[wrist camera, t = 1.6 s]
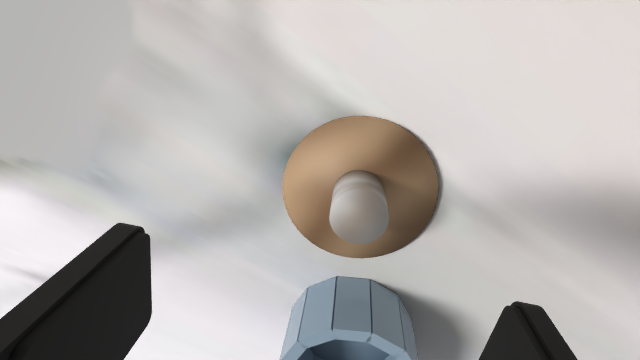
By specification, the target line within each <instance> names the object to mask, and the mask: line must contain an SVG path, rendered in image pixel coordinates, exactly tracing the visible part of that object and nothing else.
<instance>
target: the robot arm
mask: <svg viewBox="0 0 640 360" xmlns="http://www.w3.org/2000/svg"><path fill="white" fill-rule="evenodd" d="M151 314H152V300H151V257H150V236H149V235H148V234H146V233H145V231H144V229H143V228H142V227H140V226H134V225H129V224H124V223H118V224H116V225H114V226H113V227H112V228H111V229H109V230H108V231H107V232H106V233H105V234H103V235H102V236H101V237H100V238H99V239H97V240H96V241H95V242H94V243H92V244H91V245H90V246H89V247H88V248H86V249H85V250H84V251H83V252H81V253H80V254H79V255H78V256H77V257H75V258H74V259H73V260H72V261H70V262H69V263H68V264H67V265H66V266H64V267H63V268H62V269H61V270H59V271H58V272H57V273H56V274H55V275H53V276H52V277H51V278H50V279H48V280H47V281H46V282H45V283H44V284H42V285H41V286H40V287H39V288H37V289H36V290H35V291H34V292H33V293H31V294H30V295H29V296H28V297H26V298H25V299H24V300H23V301H22V302H20V303H19V304H18V305H17V306H16V307H14V308H13V309H12V310H11V311H9V312H8V313H7V314H6V315H5V316H3V317H2V318H1V319H0V360H124V358H125V357H126V355H127V354H128V352H129V351H130V350H131V348H132V347H133V345H134V344H135V342H136V341H137V340H138V338H139V337H140V335H141V334H142V332H143V331H144V330H145V328H146V327H147V325H148V323H149V321H150V318H151ZM479 360H577V358H576V357H575V355H574V354H573V352H572V351H571V349H570V348H569V346H568V345H567V343H566V342H565V340H564V339H563V337H562V336H561V334H560V333H559V331H558V330H557V328H556V327H555V325H554V324H553V322H552V321H551V319H550V318H549V316H548V315H547V313H546V312H545V311H544V309H543V308H542V307H540V306H538V305H533V304H528V303H523V302H518V301H517V302H514V303H512V304H511V306H506V307H505V308H504V309H503V311H502V313H501V315H500V317H499V319H498V321H497V324H496V326H495V328H494V330H493V332H492V334H491V336H490V338H489V340H488V342H487V344H486V346H485V348H484V350H483V352H482V354H481V356H480V358H479Z"/></svg>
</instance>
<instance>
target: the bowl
mask: <svg viewBox="0 0 640 360" xmlns="http://www.w3.org/2000/svg"><path fill="white" fill-rule="evenodd" d="M280 360H418V355H417V349H416V344H415V338H414V332H413V326H412V321H411V317H410V315H409V314H408V312H407V310H406V308H405V307H404V305H403V303H402V301H401V300H400V298H399V296H397V294H395V293H394V292H392V291H390V290H388V289H387V288H385V287H383V286H381V285H380V284H378V283H376V282H374V281H373V280H370V281H369V279H362V278H350V277H338V276H337V278H336V277H334V278H331V279H329V280H326V281H323V282H321V283H318V284H315V285H313V286H310V287H309V288H307V289H306V290H305V292H304V293H303V294H302V296H301V297H300V298H299V299H298V301H297V302H296V303H295V305H294V306H293V307H292V311H291V315H290V319H289V323H288V328H287V332H286V336H285V340H284V344H283V348H282V352H281V356H280Z"/></svg>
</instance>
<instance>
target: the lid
mask: <svg viewBox="0 0 640 360" xmlns="http://www.w3.org/2000/svg"><path fill="white" fill-rule="evenodd" d="M283 198H284V203H285V207H286V209H287V212H288V215H289V217H290V218H291V220H292V222H293V224H294V225H295V226H296V228H297V229H298V230H299V231H300V232H301V234H302V235H303V236H304V237H305V238H307V239H308V240H309V241H310V242H312V243H313V244H315V245H316V246H318V247H319V248H321V249H323V250H325V251H327V252H330V253H333V254H336V255H340V256H344V257H351V258H371V257H377V256H382V255H385V254H388V253H391V252H394V251H396V250H398V249H400V248H402V247H403V246H405V245H407V244H408V243H409V242H411V241H412V240H413V239H415V238H416V237H417V236H418V235H419V234H420V233H421V232H422V230H423V229H424V228H425V227H426V225H427V224H428V222H429V220H430V219H431V217H432V215H433V212H434V210H435V207H436V203H437V199H438V177H437V173H436V169H435V166H434V163H433V161H432V159H431V157H430V155H429V154H428V152H427V150H426V149H425V147H424V146H423V145H422V143H421V142H420V141H419V140H418V139H417V138H416V137H415V136H414V135H413V134H411V133H410V132H409V131H407V130H406V129H404V128H403V127H401V126H399V125H397V124H395V123H393V122H390V121H388V120H385V119H381V118H377V117H370V116H351V117H344V118H340V119H336V120H333V121H330V122H328V123H326V124H323V125H321V126H320V127H318V128H316V129H315V130H313V131H312V132H311V133H309V134H308V135H307V136H306V137H305V138H304V139H303V140H302V141H301V142H300V143H299V144H298V146H297V147H296V148H295V150H294V151H293V153H292V155H291V157H290V159H289V161H288V163H287V166H286V169H285V172H284V177H283Z"/></svg>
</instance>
